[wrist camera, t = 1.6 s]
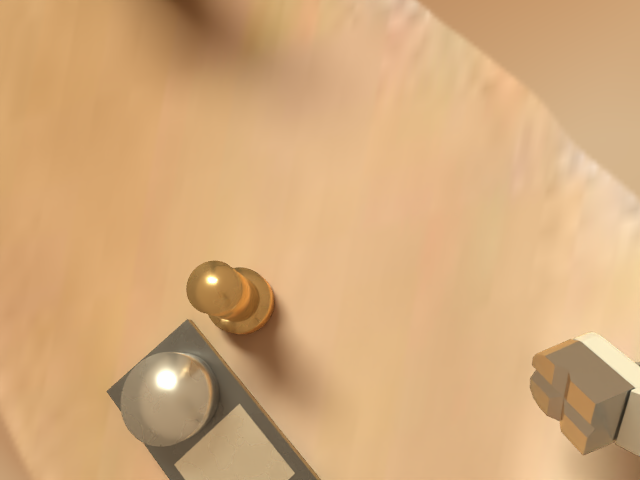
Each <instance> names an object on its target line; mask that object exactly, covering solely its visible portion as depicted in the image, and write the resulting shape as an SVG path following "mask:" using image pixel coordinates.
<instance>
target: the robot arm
mask: <svg viewBox="0 0 640 480" xmlns="http://www.w3.org/2000/svg"><path fill="white" fill-rule="evenodd" d="M532 366H533V367H534V368H535V369H536V371H535V372H534V374H533V375H532V376H531V378H530V389H531V392H532V395H533V398H534V400H535V401H536V403H537V404H538V406H539V407H540V408H541V410H542V411H543V412H544V413H545V414H546V415H547V416H549V417H551V418H554V419H556V420H558V421H560V428H561V432H562V433H563V434H564V435H565V436H566V437H567V438H568V440H569V441H570V442H571V443H572V444H573V445H574V446H575V447H576V448H577V449H578V450H579V452H580V453H581V454H582V455H585V454H588V453H590V452H592V451H595V450H597V449H600V448H602V447H604V446H607V445H609V444H611V443H614V442H616V443H615V444H616V445H618V446H620V447H622V448H624V449H626V450H628V451H629V452H631V453H633V454H635V455H637V456H639V457H640V367H639V366H638V365H637V364H636V363H634V362H633V361H632V360H631V359H629V358H628V357H627V356H626V355H624V354H623V353H622V352H621V351H619V350H618V349H617V348H615V347H614V346H613V345H612V344H610V343H609V342H608V341H607V340H605V339H604V338H603V337H602V336H600V335H599V334H597V333H594V332H588V333H585V334H583V335H581V336H578V337H576V338H574V339H570V340H567V341H565V342H563V343H560V344H558V345H556V346H553V347H551V348H549V349H546V350H544V351H542V352H539V353H537V354H536V355H535V356H534V357H533V361H532Z"/></svg>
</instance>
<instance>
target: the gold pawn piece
mask: <svg viewBox="0 0 640 480" xmlns="http://www.w3.org/2000/svg"><path fill="white" fill-rule="evenodd" d="M187 296H188V299H189V301H190V303H191V304H192V306H193V307H194V308H196V309H197V310H198V311H200V312H203V313H206V314H208V315H209V317H210V319H211V320H212V322H213V323H214V324H215V325H216V326H218V327H219V328H220V329H222V330H224V331H227V332H231V333H235V334H249V333H252V332H255V331H257V330H258V329H260V328H261V327H263V326H264V325H265V324H266V323H267V321H268V320H269V318H270V317H271V314H272V312H273V308H274V295H273V291H272V289H271V287H270V285H269V284H268V282H267V281H266V280H265V279H264V278H263V277H261V276H260V275H259V274H258V273H256V272H255V271H253V270H250V269H247V268H232V267H230V266H229V265H228V264H226V263H223V262H220V261H208V262H205V263H203V264H201V265H199V266H198V267H197V268H196V269H195V270H194V271H193V272H192V273H191V275H190V277H189V279H188V282H187Z"/></svg>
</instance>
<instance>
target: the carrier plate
mask: <svg viewBox="0 0 640 480" xmlns="http://www.w3.org/2000/svg"><path fill="white" fill-rule="evenodd" d="M107 393H108V394H109V395H110V397H111V398H112V400H113V401H114V402H115V404H116V405H117V407H118V408H119V409H120V411H121V413H122V417H123V420H124V422H125V425H126V426H127V428H128V430H129V431H130V432H131V433H132V435H134V436H135V437H136V438H137V439H138V440H140V441H141V442H143V443H144V444H145V446H146V447H147V449H148V450H149V451H150V453H151V454H152V456H153V457H154V458H155V460H156V461H157V463H158V464H159V465H160V467H161V468H162V470H163V471H164V472H165V474H166V475H167V477H168V478H169V479H170V480H321V479H320V478H319V477H318V476H317V475H316V473H315V472H314V471H313V470H312V468H311V467H310V466H309V465H308V463H307V462H306V461H305V460H304V458H303V457H302V456H301V455H300V454H299V452H298V451H297V450H296V449H295V447H294V446H293V445H292V444H291V442H290V441H289V440H288V439H287V438H286V436H285V435H284V434H283V433H282V431H281V430H280V429H279V428H278V426H277V425H276V424H275V423H274V421H273V420H272V419H271V418H270V417H269V415H268V414H267V413H266V412H265V410H264V409H263V408H262V407H261V405H260V404H259V403H258V402H257V401H256V399H255V398H254V397H253V396H252V394H251V393H250V392H249V391H248V389H247V388H246V387H245V386H244V384H243V383H242V382H241V381H240V380H239V378H238V377H237V376H236V375H235V373H234V372H233V371H232V370H231V368H230V367H229V366H228V365H227V364H226V362H225V361H224V360H223V359H222V357H221V356H220V355H219V354H218V352H217V351H216V350H215V349H214V347H213V346H212V345H211V344H210V343H209V341H208V340H207V339H206V338H205V336H204V335H203V334H202V333H201V331H200V330H199V329H198V328H197V327H196V325H195V324H194V323H193V322H192V320H188V319H187V320H186V321H185V322H184V323H183V324H182V325H180V326H179V327H178V328H177V329H176V330H175V331H174V332H173V333H172V334H170V335H169V336H168V337H167V338H166V339H165V340H164V341H163V342H161V343H160V344H159V345H158V346H157V347H156V348H155V349H154V350H152V351H151V352H150V353H149V354H148V355H147V356H146V357H145V358H143V359H142V360H141V361H140V362H139V363H138V364H137V365H136V366H134V367H133V368H132V369H131V370H130V371H129V372H128V373H127V374H126V375H124V376H123V377H122V378H121V379H120V380H119V381H118V382H117V383H115V384H114V385H113V386H112V387H111V388H110V389H109V390H108V391H107Z"/></svg>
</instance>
